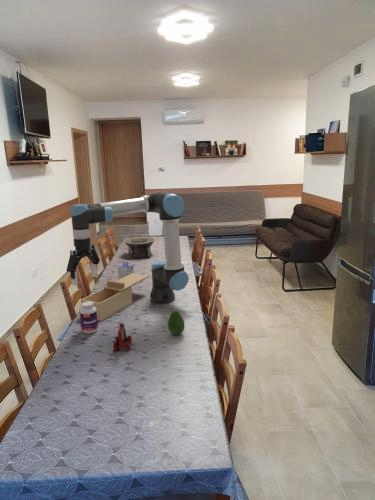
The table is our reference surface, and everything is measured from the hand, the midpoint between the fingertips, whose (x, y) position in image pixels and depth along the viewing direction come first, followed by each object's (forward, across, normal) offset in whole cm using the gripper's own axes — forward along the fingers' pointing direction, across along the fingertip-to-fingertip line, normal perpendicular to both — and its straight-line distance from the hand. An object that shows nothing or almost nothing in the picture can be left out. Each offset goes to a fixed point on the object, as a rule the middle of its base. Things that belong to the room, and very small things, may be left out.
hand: (85, 280), depth 176 cm
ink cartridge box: (+26, -67, -27) cm, 77 cm away
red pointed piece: (+26, +6, +25) cm, 37 cm away
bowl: (+26, -131, -59) cm, 146 cm away
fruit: (+26, -15, +41) cm, 51 cm away
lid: (+16, -44, -8) cm, 47 cm away
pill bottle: (+26, 0, 0) cm, 26 cm away
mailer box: (+26, -25, -8) cm, 37 cm away
